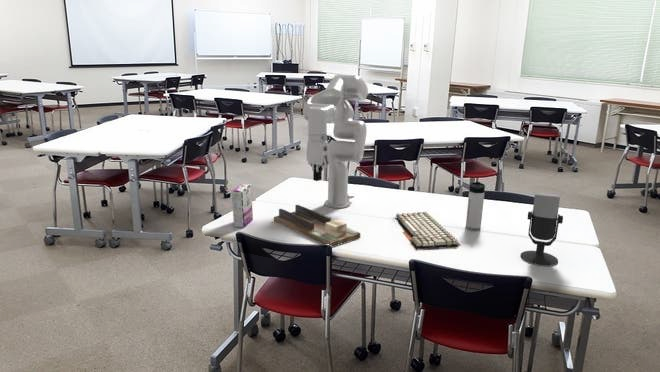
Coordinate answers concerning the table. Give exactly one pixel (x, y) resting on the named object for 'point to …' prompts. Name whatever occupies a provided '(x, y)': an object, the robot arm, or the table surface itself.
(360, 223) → the table surface
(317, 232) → the runway board
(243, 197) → the candy bar box
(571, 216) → the table surface
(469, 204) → the travel mug
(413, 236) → the mechanical keyboard
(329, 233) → the maple block
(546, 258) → the microphone
